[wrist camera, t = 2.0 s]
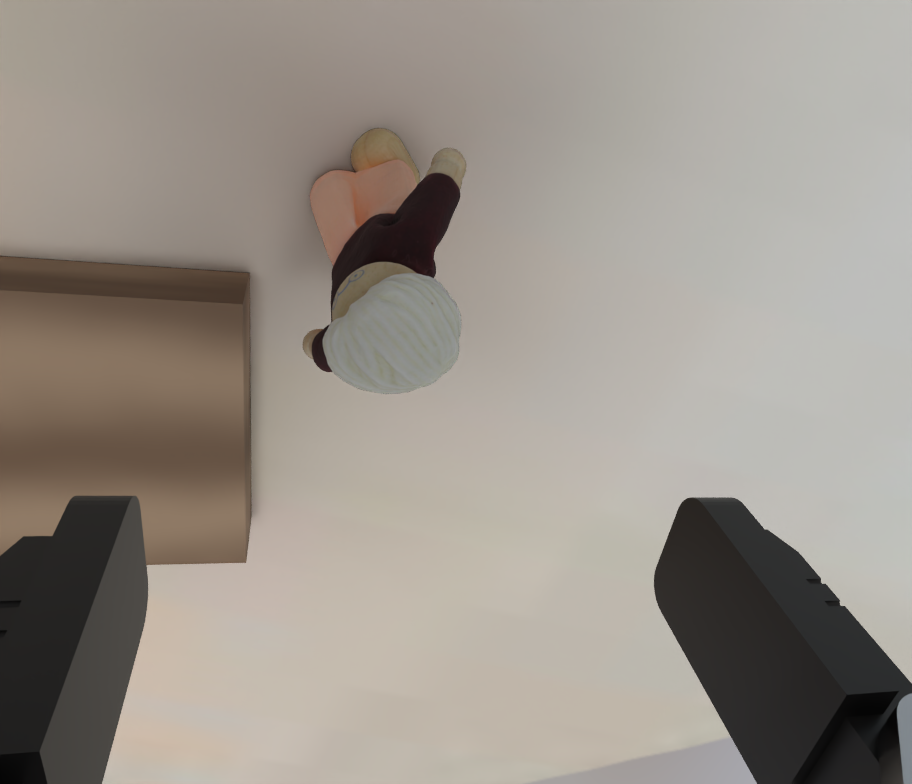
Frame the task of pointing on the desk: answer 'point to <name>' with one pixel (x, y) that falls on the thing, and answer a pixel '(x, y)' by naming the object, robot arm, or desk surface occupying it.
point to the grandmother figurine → (387, 267)
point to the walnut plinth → (127, 401)
